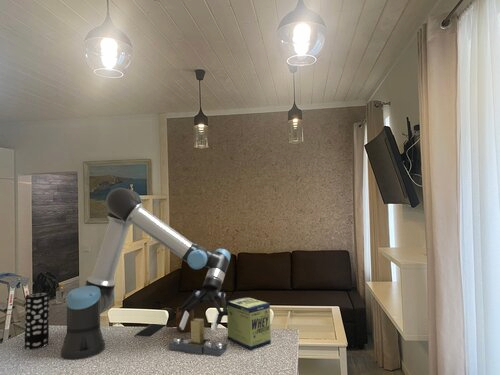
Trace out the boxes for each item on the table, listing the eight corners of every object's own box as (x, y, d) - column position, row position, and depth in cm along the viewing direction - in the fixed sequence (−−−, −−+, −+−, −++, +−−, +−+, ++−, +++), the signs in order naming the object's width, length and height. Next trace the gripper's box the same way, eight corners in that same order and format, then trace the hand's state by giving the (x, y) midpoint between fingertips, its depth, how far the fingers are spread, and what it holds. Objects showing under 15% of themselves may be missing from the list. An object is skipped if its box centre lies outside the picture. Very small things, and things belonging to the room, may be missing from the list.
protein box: (251, 351, 129) (250, 308, 130) (226, 339, 141) (226, 300, 142) (271, 343, 136) (270, 303, 137) (246, 333, 148) (246, 296, 149)
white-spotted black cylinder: (19, 348, 137) (20, 297, 139) (36, 340, 145) (37, 292, 147) (36, 349, 135) (37, 297, 137) (53, 342, 143) (54, 292, 145)
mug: (185, 336, 146) (185, 313, 146) (169, 335, 148) (168, 313, 148) (196, 327, 157) (196, 306, 158) (181, 326, 159) (180, 305, 160)
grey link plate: (168, 350, 131) (168, 341, 131) (178, 343, 138) (178, 335, 138) (219, 356, 124) (219, 347, 125) (227, 349, 131) (227, 340, 131)
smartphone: (133, 335, 147) (151, 323, 162) (133, 338, 147) (151, 326, 162) (150, 336, 145) (167, 324, 160) (150, 339, 145) (167, 327, 160)
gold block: (191, 351, 130) (190, 321, 131) (195, 347, 134) (195, 318, 134) (199, 352, 129) (199, 321, 130) (204, 348, 132) (203, 319, 133)
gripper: (243, 288, 145) (230, 337, 130) (190, 285, 153) (172, 331, 138) (238, 277, 140) (224, 327, 125) (184, 275, 148) (164, 322, 133)
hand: (196, 330), depth 131 cm, fingers open, 13 cm apart
